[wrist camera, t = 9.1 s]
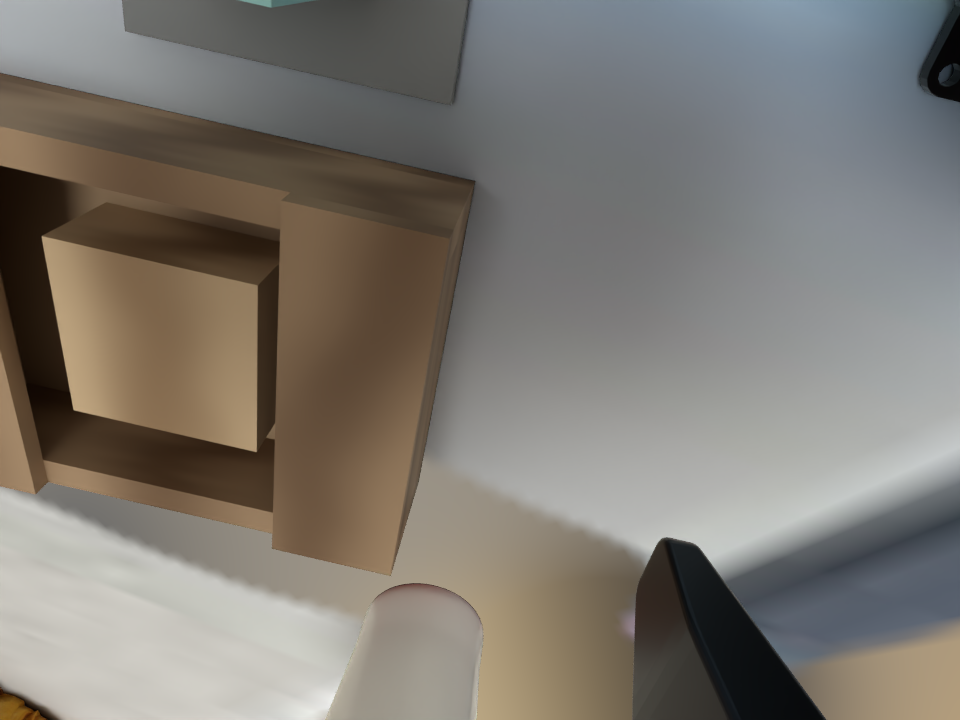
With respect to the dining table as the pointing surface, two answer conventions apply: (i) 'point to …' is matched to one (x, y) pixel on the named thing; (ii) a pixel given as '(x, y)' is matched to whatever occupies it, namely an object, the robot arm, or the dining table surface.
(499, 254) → the dining table surface
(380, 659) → the drinking glass
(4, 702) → the croissant
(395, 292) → the crate
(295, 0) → the block
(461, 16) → the mat
